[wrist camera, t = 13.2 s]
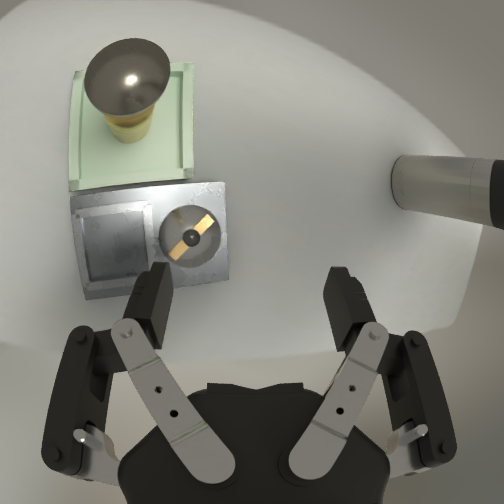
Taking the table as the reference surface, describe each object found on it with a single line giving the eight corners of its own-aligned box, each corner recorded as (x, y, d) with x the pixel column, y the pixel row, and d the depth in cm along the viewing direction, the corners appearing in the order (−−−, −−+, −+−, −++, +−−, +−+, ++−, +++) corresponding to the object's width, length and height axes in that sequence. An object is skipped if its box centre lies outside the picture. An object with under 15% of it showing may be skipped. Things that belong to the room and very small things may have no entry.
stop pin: (155, 99, 23) (172, 37, 11) (154, 145, 24) (169, 110, 12) (107, 103, 21) (90, 42, 9) (106, 150, 22) (80, 119, 11)
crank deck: (218, 181, 28) (228, 181, 25) (223, 274, 30) (232, 283, 28) (74, 196, 22) (67, 197, 20) (88, 292, 25) (84, 304, 22)
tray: (189, 70, 24) (193, 63, 22) (190, 178, 27) (194, 178, 25) (78, 78, 19) (74, 71, 17) (74, 191, 22) (69, 191, 20)
